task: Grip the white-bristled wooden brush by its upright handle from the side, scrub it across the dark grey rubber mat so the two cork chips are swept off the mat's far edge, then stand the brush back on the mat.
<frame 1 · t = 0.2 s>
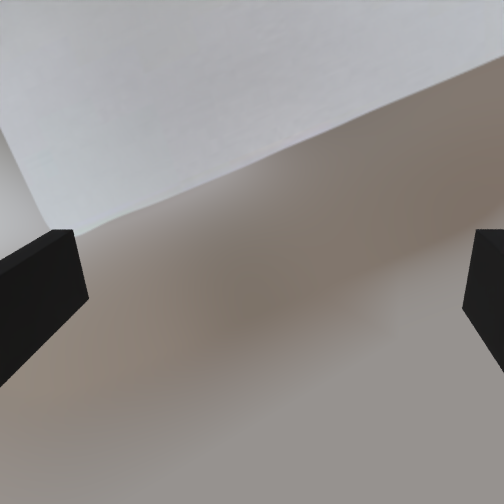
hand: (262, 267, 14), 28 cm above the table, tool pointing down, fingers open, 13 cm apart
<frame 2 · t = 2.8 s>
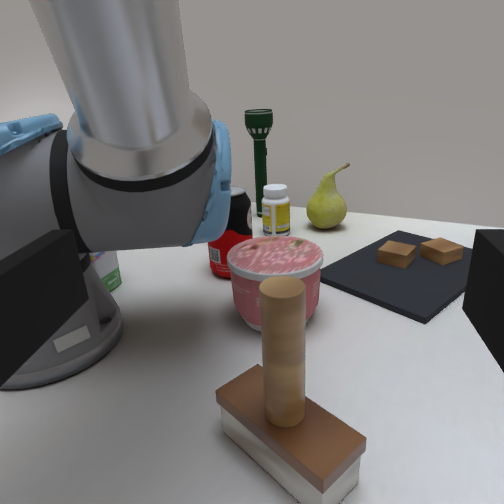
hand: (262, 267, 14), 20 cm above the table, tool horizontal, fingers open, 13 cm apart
ink box: (88, 288, 57), on the table
supplement bottle: (276, 234, 72), on the table
chip b: (440, 257, 58), point 1 cm above the table, touching mat
fruit: (327, 228, 74), on the table
beverage can: (232, 271, 59), on the table
flashlight: (262, 216, 82), on the table
container: (276, 316, 48), on the table
chip a: (395, 260, 58), point 1 cm above the table, touching mat
mat: (408, 269, 57), on the table
brush: (285, 455, 30), on the table
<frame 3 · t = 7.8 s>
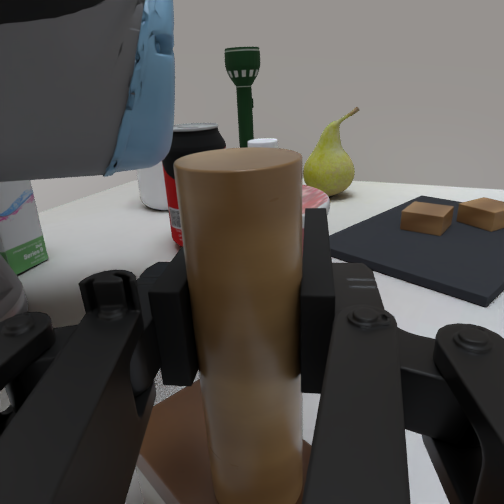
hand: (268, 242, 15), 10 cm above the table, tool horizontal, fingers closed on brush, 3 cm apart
ink box: (1, 265, 41), on the table
supplement bottle: (265, 203, 57), on the table
chip b: (485, 222, 43), point 1 cm above the table, touching mat
fruit: (329, 197, 58), on the table
cup: (177, 203, 59), on the table
beverage can: (203, 244, 44), on the table
flashlight: (248, 187, 66), on the table
container: (259, 299, 32), on the table
chip a: (425, 226, 42), point 1 cm above the table, touching mat
mat: (443, 238, 41), on the table
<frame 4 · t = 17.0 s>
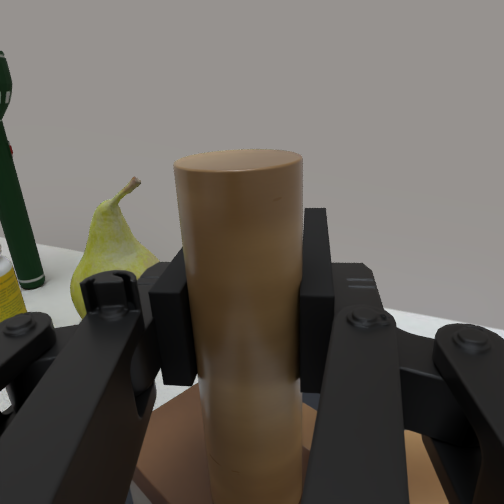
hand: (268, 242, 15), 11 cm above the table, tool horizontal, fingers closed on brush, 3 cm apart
fruit: (132, 330, 31), on the table
flashlight: (34, 286, 39), on the table
chip a: (284, 465, 18), point 1 cm above the table, touching brush, mat
when the fingers open (11 cm above the table, at t = 26.6 s): brush stays where it is, resting on mat.
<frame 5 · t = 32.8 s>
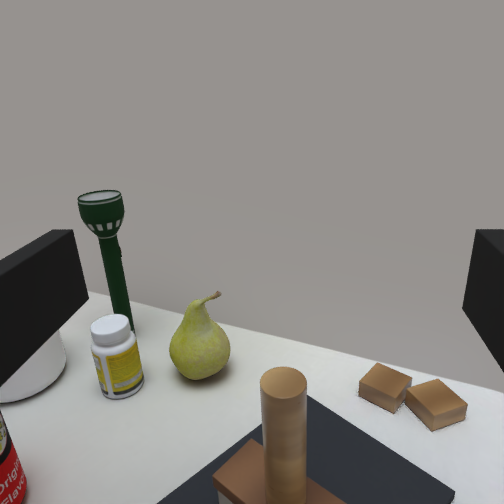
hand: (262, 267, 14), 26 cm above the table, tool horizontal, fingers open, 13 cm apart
supplement bottle: (123, 386, 47), on the table
chip b: (433, 411, 41), on the table
fruit: (204, 373, 48), on the table
cup: (24, 379, 49), on the table
flashlight: (127, 337, 56), on the table
chip a: (384, 394, 44), on the table
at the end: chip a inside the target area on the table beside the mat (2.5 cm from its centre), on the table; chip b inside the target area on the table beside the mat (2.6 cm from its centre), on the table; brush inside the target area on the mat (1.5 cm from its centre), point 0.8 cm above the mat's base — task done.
